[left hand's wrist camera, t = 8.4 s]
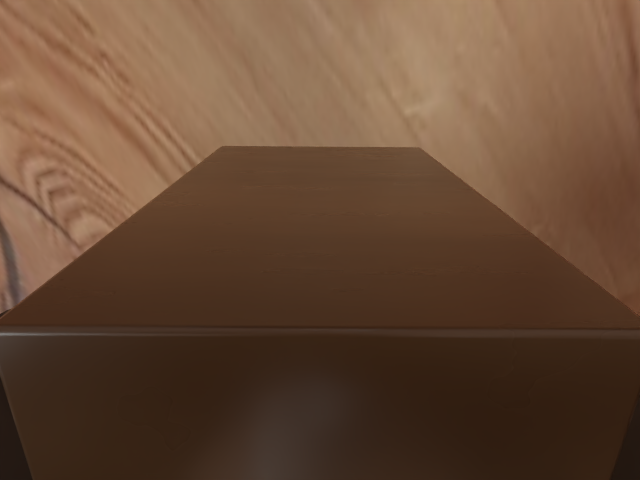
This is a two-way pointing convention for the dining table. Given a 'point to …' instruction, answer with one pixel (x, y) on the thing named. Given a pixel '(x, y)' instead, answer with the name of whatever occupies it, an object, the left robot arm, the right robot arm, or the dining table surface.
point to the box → (320, 335)
